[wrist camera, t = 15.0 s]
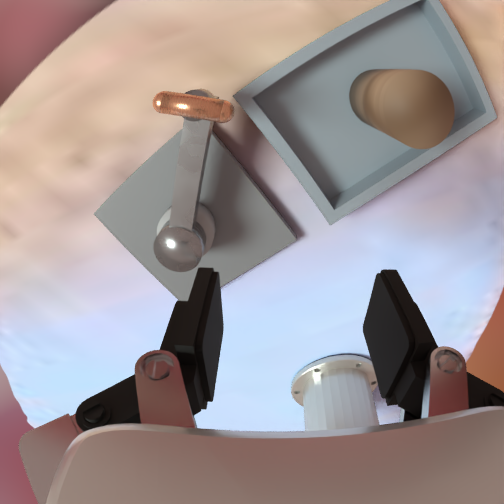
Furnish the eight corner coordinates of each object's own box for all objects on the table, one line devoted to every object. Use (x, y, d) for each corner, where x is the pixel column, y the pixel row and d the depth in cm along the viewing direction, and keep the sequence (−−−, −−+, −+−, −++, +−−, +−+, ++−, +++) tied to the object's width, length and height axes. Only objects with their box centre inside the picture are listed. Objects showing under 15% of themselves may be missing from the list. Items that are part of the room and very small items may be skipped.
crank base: (296, 234, 30) (298, 251, 28) (188, 301, 35) (183, 320, 32) (199, 115, 25) (191, 119, 22) (98, 209, 30) (84, 222, 27)
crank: (208, 263, 28) (198, 300, 24) (154, 251, 28) (135, 285, 23) (242, 94, 21) (236, 98, 16) (175, 83, 20) (152, 85, 16)
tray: (479, 112, 22) (497, 117, 20) (324, 211, 29) (330, 225, 26) (412, -10, 17) (427, -16, 15) (236, 94, 24) (232, 95, 21)
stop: (414, 107, 23) (465, 124, 16) (371, 138, 24) (410, 164, 17) (383, 58, 21) (429, 56, 14) (337, 89, 22) (368, 95, 16)
